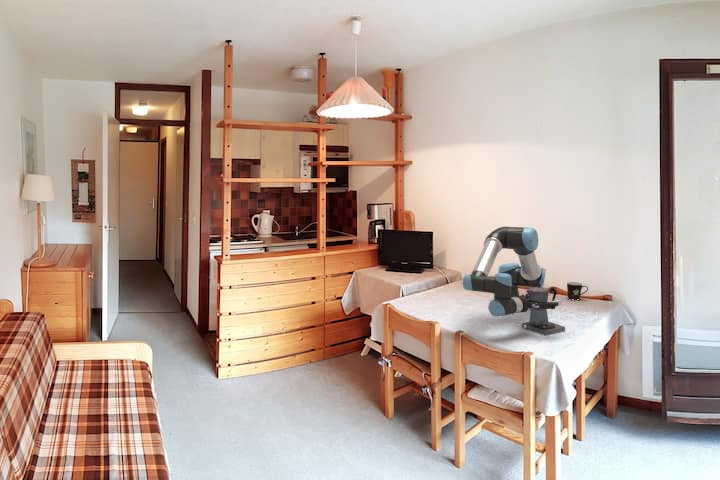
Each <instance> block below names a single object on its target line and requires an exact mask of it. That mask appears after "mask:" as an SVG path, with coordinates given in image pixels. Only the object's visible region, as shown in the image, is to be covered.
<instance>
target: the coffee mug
mask: <svg viewBox="0 0 720 480" xmlns="http://www.w3.org/2000/svg"><path fill="white" fill-rule="evenodd" d="M584 287H586V290H585V291H584V292H582V289H583V288H584ZM566 289H567V299H568V298H569V299H574V300H577V299H579V300H580V298H581V296H582V295H584V294H585V293H587V292H588V290H589V287H588V286H587V285H583V283H582V282H577V281H568V282H566ZM569 299H568V300H569Z"/></svg>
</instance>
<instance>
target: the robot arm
mask: <svg viewBox="0 0 720 480" xmlns="http://www.w3.org/2000/svg"><path fill="white" fill-rule="evenodd" d="M538 246H539V234H538V231H537V230H536V229H535V228H534V227H522V226H521V227H520V226H501V227H498V228H496V229H494V230H493V231H491V232H490V233H489V234H488V235H487V236H486V237H485V239H484V241H483V248H482V250H481V252H480V255H479V256H478V259H477V260H476V263H475V266H474V268H473V270H472V271H471V274H464V276H463V277H462V287H463V289H464V290H466V291H471V292H479V293H488V294H493V300H490V301H489V304H488V311H489V313H490V315H491V316H492V317H505V316H508V315H512V316H514V315H515V314H520V313H526V312H527V311H529V310H530V309H531V308H535V309H547V310H556V307H561V306H562V299H558V300H554V301H552V300H551V301H547V302H538V301H537V300H530V298H529V295H528V293H525V294H521V295H520V291H519V287H525V288H533V287H538V286H537V284H541V285H540V287H543V288H544V286H545V285H544V284H545V281H546V280H545V279H546V268H544V267H541V266H540V265H539V264H538V261H537V257H536V253H535V251H536V250H537V249H538ZM502 249H504V250H505V249H506V250H513V252H514V254H517V257H518V260H519V263H517V262H512V263H511V262H510V263H509V262H508V263H503V264H500V265H499V267H498V272H497V273H495V274H494V276H489V274H490V272H491V270H492V267H493V265H494V263H495V260H496V257H497V255H498V253H500V252H501V251H502ZM535 302H536V304H535Z"/></svg>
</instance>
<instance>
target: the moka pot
mask: <svg viewBox="0 0 720 480" xmlns="http://www.w3.org/2000/svg"><path fill="white" fill-rule="evenodd" d="M540 285H541V284H537V286H538V287H528V289H526V291H525V292H526V294H528V296H529V298H530V300H537V301H538V302H549V301H548V300H549V293H551V292H553V295H552V298H551V301H556V300H555V299H556V297H557V295H558V294H557V293H558V291H557V290H556V289H555V288H554V287H544V286H543V287H540ZM535 304H536V302H535ZM529 310H530V314H529V321H528V322H530V323H531V324H533V325H538V326H542V325H547V324H548V322H549V318H548V317H549V316H548V309H535V308H529Z"/></svg>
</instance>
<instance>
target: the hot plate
mask: <svg viewBox="0 0 720 480" xmlns="http://www.w3.org/2000/svg"><path fill="white" fill-rule="evenodd" d="M523 327H524V328H523ZM521 328H523V329H526V330H529V331H531V330H532V332H534V333H537V332H538V333H537V334H540V333H541V334H540V335H542V334H544V335H543V336H547V334H548V335H552V334H551V333H553V334H556V333H555V332H558V333H561V332H560V331H562V332H565V331H566V326H563V325H560V324H557V323H555V322H552V321H548V324H547V325H542V326H538V325H533V324H531V323H530V322H529V321H527V322H522V323H521ZM564 330H565V331H564Z"/></svg>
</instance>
